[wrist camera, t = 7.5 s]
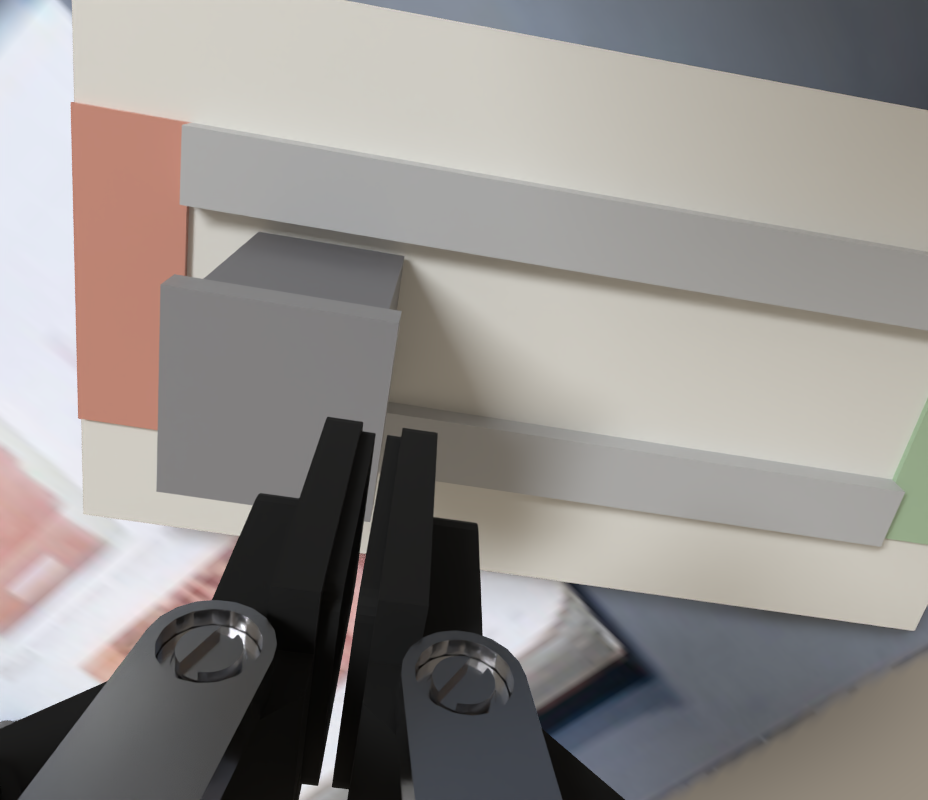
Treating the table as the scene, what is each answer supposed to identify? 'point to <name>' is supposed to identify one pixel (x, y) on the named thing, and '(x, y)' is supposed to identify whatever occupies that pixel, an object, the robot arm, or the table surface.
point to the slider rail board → (539, 286)
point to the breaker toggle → (272, 365)
